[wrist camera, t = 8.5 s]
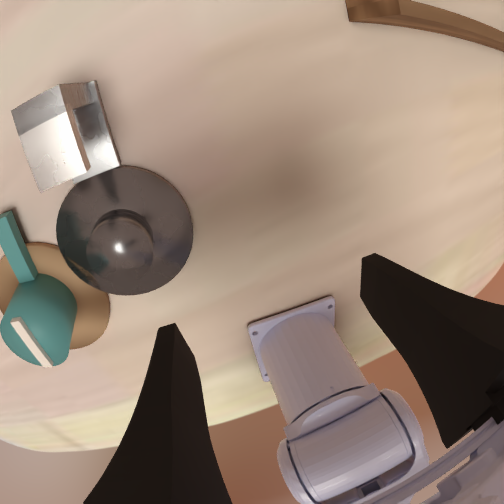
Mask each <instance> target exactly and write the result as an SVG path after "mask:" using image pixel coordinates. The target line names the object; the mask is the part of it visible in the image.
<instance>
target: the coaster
mask: <svg viewBox="0 0 504 504" xmlns="http://www.w3.org/2000/svg"><path fill="white" fill-rule="evenodd" d="M25 245H26V247H27V249H28V252H29V254H30V256H31V258H32V260H33V262H34V264H35V267H36V269H37V271H38V273H42V274H47V275H50V276H52V277H54V278H56V279H58V280H60V281H61V282H62V283H64V284H65V285H66V286H67V287H68V288H69V289H70V291H71V292H72V293H73V295H74V297H75V299H76V302H77V315H76V319H75V323H74V328H73V333H72V338H71V343H70V348H69V349H77V348H82V347H85V346H88V345H90V344H92V343H93V342H95V341H96V340H97V339H98V338H100V337H101V335H102V334H103V333H104V331H105V329H106V327H107V325H108V321H109V313H110V302H109V297H108V294H107V292H103V291H101V290H100V289H99V290H98V289H97V288H99V287H96V288H94V286H95V285H93V283H94V282H93V281H95V280H94V277H93V276H92V275H91V274H90V273H89V272H88V271H86V270H84V269H83V268H82V267H81V270H79V269H80V268H79V269H78V270H79V271H82V269H83V271H85V272H86V273H85V274H87V273H89V274H90V275H91V276H92V277H93V278H92V277H89V278H92V279H93V280H92V282H93V283H92V285H93V287H92V286H90V285H88V284H87V283H85V282H84V281H82V280H81V279H80V278H79V277H78V276H77V275H76V274H74V273H73V271H72V270H71V269H70V268H69V267H68V265H67V264H68V263H66V262H65V260H66V259H65V257H63V256H64V255H63V256H62V253H61V252H60V249H59V247H58V246H56V245H52V244H48V243H40V242H33V243H25ZM65 256H66V255H65ZM67 258H68V256H67ZM68 260H70V258H68ZM70 261H71V260H70ZM74 261H75V260H74ZM71 262H72V263H74V262H73V260H72V261H71ZM74 264H76V265H77V263H76V262H75V263H74ZM76 265H75V267H77V268H78V267H79V265H77V266H76ZM82 273H83V274H84V272H81V274H82ZM85 274H84V275H85ZM89 274H87V275H88V276H90V275H89ZM84 275H83V276H84ZM87 275H86V277H87ZM87 278H88V277H87ZM96 281H97V280H96ZM96 283H98V282H96ZM18 284H19V281H18V279H17V277H16V275H15V273H14V271H13V270H12V268H11V266H10V264H9V262H8V260H7V257H6V255H5V256H4V257H3V258H2V260H1V261H0V310H1V311H2V313H3V315H4V314H5V311H6V309H7V307H8V305H9V303H10V300H11V298H12V296H13V294H14V292H15V290H16V288H17V286H18Z"/></svg>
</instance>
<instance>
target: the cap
mask: <svg viewBox="0 0 504 504" xmlns="http://www.w3.org/2000/svg"><path fill="white" fill-rule="evenodd" d="M0 245H1V247H2V249H3V251H4V253H5V255H6V257H7V260H8V262H9V264H10V266H11V268H12V270H13V271H14V273H15V275H16V277H17V279H18V281H19V284H18V286H17V288H16V290H15V292H14V294H13V296H12V298H11V300H10V303H9V305H8V307H7V309H6V311H5V314H4V316H3V318H2V321H1V324H0V332H1V336H2V338H3V340H4V342H5V343H6V345H7V346H8V347H9V348H10V349H11V350H12V351H13V352H14V353H15V354H16V355H17V356H19V357H20V358H22V359H24V360H25V361H27V362H30V363H32V364H35V365H39V366H43V367H44V368H46V367H53V366H56V365H59V364H61V363H63V362H64V361H65V360H66V359H67V357H68V353H69V348H70V343H71V338H72V333H73V328H74V323H75V319H76V315H77V302H76V299H75V297H74V295H73V293H72V292H71V291H70V289H69V288H68V287H67V286H66V285H65V284H64V283H62V282H61V281H60V280H58V279H56V278H54V277H52V276H50V275H47V274H42V273H38V271H37V269H36V267H35V264H34V262H33V260H32V258H31V256H30V254H29V252H28V249H27V247H26V245H25V243H24V240H23V238H22V236H21V233H20V231H19V229H18V226H17V224H16V221H15V219H14V216H13V213H12V211H8V212H6V213H3V214H0Z"/></svg>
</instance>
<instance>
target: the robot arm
mask: <svg viewBox="0 0 504 504" xmlns="http://www.w3.org/2000/svg"><path fill="white" fill-rule="evenodd" d="M360 297H361V299H362V301H363V302H364V304H365V306H366V308H367V309H368V311H369V313H370V314H371V316H372V317H373V319H374V320H375V321H376V323H377V324H378V325H379V327H380V328H381V329H382V331H383V332H384V333H385V334H386V336H387V337H388V338H389V340H390V341H391V342H392V344H393V345H394V346H395V348H396V349H397V350H398V351H399V353H400V354H401V355H402V357H403V358H404V360H405V361H406V363H407V364H408V366H409V368H410V370H411V372H412V373H413V375H414V377H415V379H416V380H417V382H418V384H419V386H420V388H421V390H422V392H423V394H424V396H425V398H426V401H427V403H428V405H429V407H430V409H431V412H432V414H433V417H434V419H435V422H436V425H437V428H438V430H439V433H440V436H441V439H442V442H443V443H444V445H445V447H446V448H449V447H450V446H452V445H453V444H454V443H456V442H457V441H458V440H460V439H461V438H462V437H464V436H465V435H466V434H467V433H469V432H470V431H471V430H472V429H473V430H474V431H475V432H474V433H472V434H471V435H470V436H469V437H467V438H466V439H465V440H464V441H462V442H461V443H460V444H458V445H457V446H456V447H455V448H453V449H452V450H450V451H449V452H448V453H446V454H445V455H444V456H442V457H441V458H439V459H438V460H437V461H435V462H433V463H432V464H431V465H429V463H428V462H429V456H428V454H427V451H426V448H425V445H424V437H423V433H422V430H421V427H420V425H419V423H418V421H417V419H416V417H415V415H414V413H413V412H412V410H411V408H410V407H409V405H408V404H407V402H406V401H405V400H404V399H403V397H402V396H401V395H400V394H399V393H397V392H396V391H392V390H389V389H387V388H385V389H383V390H381V391H378V389H377V388H376V386H375V385H374V383H371V384H368V382H367V380H366V379H365V377H364V375H363V374H362V372H361V371H360V369H359V367H358V366H357V364H356V362H355V361H354V359H353V358H352V356H351V354H350V353H349V351H348V350H347V348H346V346H345V345H344V343H343V342H342V340H341V338H340V337H339V335H338V334H337V332H336V331H335V329H334V323H335V299H334V298H333V297H332V296H328V297H326V298H323V299H320V300H317V301H315V302H312V303H309V304H306V305H304V306H301V307H298V308H295V309H292V310H289V311H286V312H284V313H281V314H278V315H275V316H272V317H269V318H266V319H263V320H260V321H257V322H254V323H251V324H249V325H248V327H247V329H248V332H249V336H250V339H251V342H252V346H253V349H254V352H255V355H256V359H257V362H258V365H259V369H260V372H261V375H262V378H263V381H265V382H268V381H270V382H271V384H272V387H273V390H274V392H275V395H276V397H277V400H278V402H279V405H280V407H281V409H282V412H283V415H284V417H285V420H286V422H287V425H288V426H286V427H284V428H283V429H284V431H285V434H286V436H287V438H286V439H284V440H282V441H281V442H280V444H279V448H278V450H277V459H278V464H279V467H280V470H281V473H282V476H283V478H284V480H285V482H286V484H287V486H288V488H289V490H290V491H291V493H292V495H293V496H294V497H295V499H296V500H297V501H298V502H299V503H301V504H410V501H411V499H412V497H413V496H414V494H415V493H416V492H418V491H419V490H421V489H422V488H424V487H425V486H427V485H429V484H430V483H432V482H433V481H435V480H436V479H438V478H439V477H441V476H442V475H443V474H445V473H446V472H448V471H449V470H450V469H452V468H453V467H454V466H456V465H457V464H458V463H460V462H461V461H462V460H464V459H465V458H466V457H467V456H469V455H470V454H471V455H470V460H469V461H468V462H467V463H466V464H464V465H463V466H461V467H460V468H458V469H457V470H455V471H454V472H452V473H451V474H450V475H448V476H447V477H446V478H445V479H443V480H442V481H441V482H439V483H438V484H437V488H438V490H439V492H438V493H437V494H435V495H434V496H432V497H430V498H429V499H427V500H425V501H424V502H422V503H420V504H504V305H499V304H495V303H491V302H487V301H483V300H480V299H477V298H474V297H470V296H468V295H465V294H462V293H459V292H457V291H454V290H452V289H449V288H447V287H444V286H442V285H440V284H438V283H435V282H433V281H431V280H429V279H427V278H425V277H423V276H420V275H418V274H416V273H414V272H412V271H410V270H408V269H406V268H405V267H403V266H401V265H399V264H397V263H395V262H393V261H391V260H389V259H387V258H385V257H383V256H380V255H378V254H376V253H374V254H371V255H368V256H366V257H363V258H362V269H361V290H360ZM255 331H256V332H255ZM83 504H232V502H231V499H230V497H229V494H228V491H227V489H226V486H225V483H224V481H223V478H222V475H221V472H220V469H219V466H218V463H217V460H216V457H215V454H214V451H213V447H212V444H211V440H210V435H209V431H208V424H207V418H206V412H205V406H204V399H203V393H202V386H201V380H200V376H199V372H198V368H197V364H196V360H195V357H194V355H193V353H192V351H191V350H190V348H189V346H188V345H187V343H186V341H185V339H184V338H183V336H182V334H181V332H180V331H179V329H178V327H177V325H176V324H175V323H173V324H170V325H166V326H163V327H160V328H159V329H158V332H157V336H156V340H155V344H154V348H153V352H152V356H151V360H150V364H149V367H148V370H147V374H146V377H145V381H144V384H143V387H142V390H141V393H140V396H139V399H138V402H137V405H136V408H135V410H134V413H133V415H132V418H131V420H130V423H129V425H128V428H127V430H126V432H125V434H124V436H123V438H122V440H121V443H120V445H119V447H118V449H117V451H116V452H115V454H114V456H113V458H112V460H111V462H110V463H109V465H108V466H107V468H106V470H105V472H104V473H103V475H102V477H101V478H100V480H99V481H98V483H97V484H96V485H95V487H94V488H93V490H92V492H91V493H90V494H89V495H88V497H87V498H86V499H85V501H84V502H83Z"/></svg>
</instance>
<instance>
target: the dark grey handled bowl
mask: <svg viewBox="0 0 504 504" xmlns="http://www.w3.org/2000/svg"><path fill="white" fill-rule="evenodd" d="M11 112H12V115H13V119H14V122H15V126H16V129H17V132H18V135H19V138H20V141H21V144H22V147H23V150H24V153H25V155H26V158H27V161H28V163H29V166H30V169H31V171H32V174H33V176H34V179H35V181H36V184H37V186H38V189H39V191H40V193H42V192H44V191H46V190H48V189H50V188H52V187H54V186H57V185H59V184H61V183H63V182H65V181H68V180H70V179H72V180H73V183H74V184H75V183H77V182H78V183H77V184H76V185H75V186H74V187H73V188H72V190H71V191H70V192H69V194H68V195H67V196H66V198H65V200H64V201H63V203H62V205H61V208H60V210H59V214H58V218H57V225H56V235H57V242H58V246H59V249H60V252H61V253H62V256H63V255H64V256H63V257H65V259H66V260H65V262H66V263H68V264H67V265H68V267H69V268H70V269H71V270H72V271H73V273H74V274H76V275H77V276H78V277H79V278H80V279H81V280H82V281H84V282H85V283H87V284H88V285H90V286H92V287H93V285H95V286H94V288H96V287H99V288H97V289H98V290H99V289H100V290H101V291H103V292H107V293H111V294H116V295H137V294H143V293H147V292H150V291H153V290H156V289H158V288H159V287H161V286H163V285H165V284H166V283H168V282H169V281H170V280H172V279H173V278H174V277H175V276H176V275H177V274H178V273H179V272H180V271H181V269H182V268H183V266H184V265H185V263H186V261H187V259H188V257H189V254H190V251H191V247H192V242H193V227H192V221H191V217H190V213H189V210H188V208H187V205H186V203H185V201H184V200H183V198H182V196H181V195H180V194H179V192H178V191H177V190H176V189H175V188H174V187H173V186H172V185H171V184H170V183H169V182H168V181H166V180H165V179H164V178H162V177H161V176H159V175H157V174H155V173H154V172H151V171H149V170H146V169H143V168H139V167H134V166H120V164H121V162H120V159H119V156H118V153H117V150H116V147H115V144H114V140H113V137H112V134H111V131H110V128H109V124H108V121H107V118H106V114H105V111H104V107H103V104H102V100H101V97H100V93H99V89H98V86H97V82H96V81H91V82H89V83H72V84H59V85H57V86H55V87H53V88H51V89H49V90H47V91H45V92H43V93H41V94H39V95H37V96H36V97H34V98H32V99H30V100H28V101H27V102H25V103H23V104H22V105H20V106H18V107H17V108H15V109H13V110H12V111H11ZM65 255H66V256H65ZM67 256H68V258H70V260H71V261H72V260H73V262H74V263H75V262H76V263H77V265H79V267H78V268H77V267H75V265H76V264H74V263H72V262H71V261H70V260H68V258H67ZM74 260H75V261H74ZM77 265H76V266H77ZM81 267H82V268H83V269H84V270H86V271H88V272H89V273H90V274H91V275H92V276H93V277H94V280H95V281H93V282H94V283H93V282H92V280H93V279H92V278H93V277H92V276H91V275H90V274H89V273H87V274H89V275H90V276H88V275H87V274H85V273H86V272H85V271H83V269H82V271H79V270H81ZM79 268H80V269H79ZM78 269H79V270H78ZM81 272H84V274H85V275H84V274H83V273H82V274H81ZM83 275H84V276H83ZM86 275H87V277H88V278H87V277H86ZM89 277H92V278H89ZM96 280H97V281H96ZM96 282H98V283H96ZM92 283H93V285H92Z"/></svg>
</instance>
